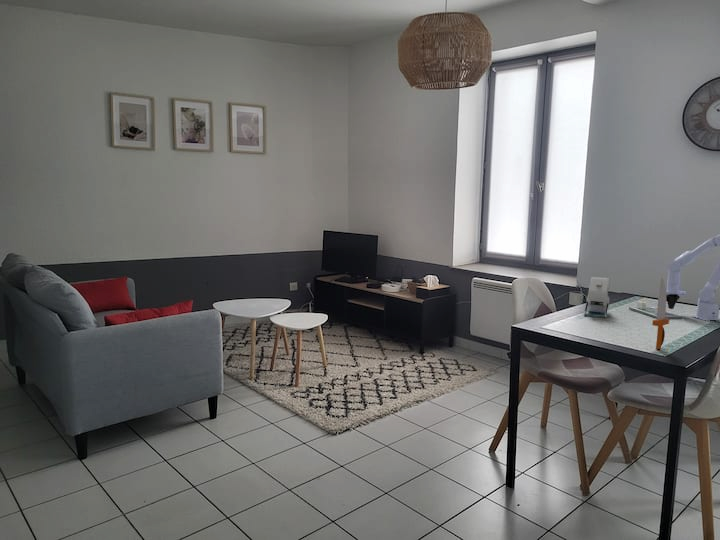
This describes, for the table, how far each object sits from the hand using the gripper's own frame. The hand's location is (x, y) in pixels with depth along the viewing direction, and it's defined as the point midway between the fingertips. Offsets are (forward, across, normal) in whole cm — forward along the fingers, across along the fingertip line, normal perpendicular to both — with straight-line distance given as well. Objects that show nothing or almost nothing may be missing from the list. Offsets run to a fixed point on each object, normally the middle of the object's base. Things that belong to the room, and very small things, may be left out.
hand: (670, 308), depth 293 cm
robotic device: (+3, +40, -3) cm, 41 cm away
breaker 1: (+1, +12, -7) cm, 14 cm away
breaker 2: (+1, +6, 0) cm, 6 cm away
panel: (+3, +9, 0) cm, 9 cm away
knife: (+3, +54, +61) cm, 82 cm away
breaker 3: (+1, +12, +7) cm, 14 cm away
